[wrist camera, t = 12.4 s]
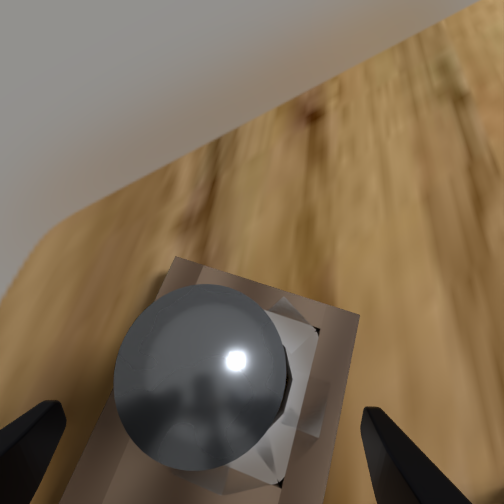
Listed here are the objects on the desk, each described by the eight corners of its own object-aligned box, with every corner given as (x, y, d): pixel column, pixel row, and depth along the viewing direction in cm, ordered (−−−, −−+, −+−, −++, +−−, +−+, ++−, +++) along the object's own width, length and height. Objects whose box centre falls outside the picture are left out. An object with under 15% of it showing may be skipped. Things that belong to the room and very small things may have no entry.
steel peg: (278, 348, 19) (305, 312, 8) (257, 421, 17) (253, 504, 6) (215, 326, 20) (159, 264, 9) (189, 395, 18) (80, 428, 7)
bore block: (348, 322, 20) (360, 314, 17) (236, 854, 12) (230, 972, 9) (184, 268, 21) (175, 256, 19) (-10, 699, 13) (-66, 767, 11)
